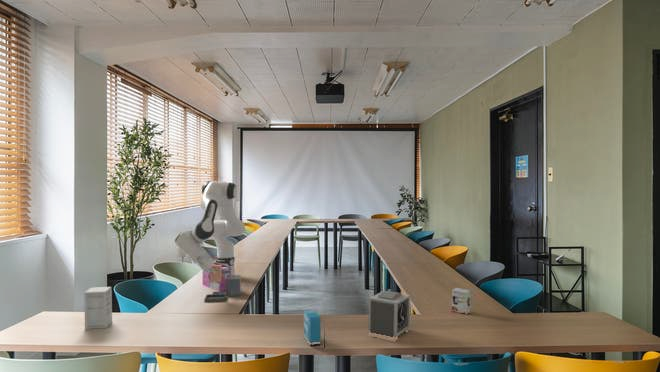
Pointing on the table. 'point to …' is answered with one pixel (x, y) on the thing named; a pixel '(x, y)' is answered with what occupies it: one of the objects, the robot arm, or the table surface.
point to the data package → (312, 326)
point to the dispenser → (232, 285)
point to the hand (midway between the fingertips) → (216, 272)
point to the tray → (215, 298)
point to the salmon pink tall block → (218, 276)
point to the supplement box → (98, 307)
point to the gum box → (217, 285)
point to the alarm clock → (389, 313)
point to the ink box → (461, 300)
